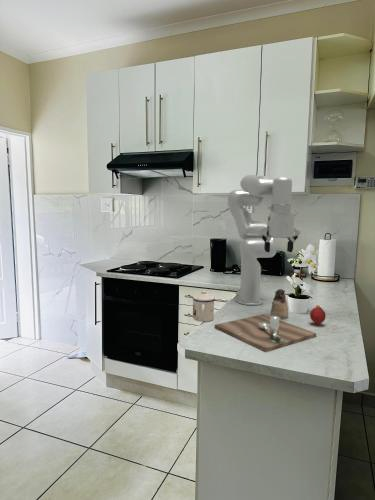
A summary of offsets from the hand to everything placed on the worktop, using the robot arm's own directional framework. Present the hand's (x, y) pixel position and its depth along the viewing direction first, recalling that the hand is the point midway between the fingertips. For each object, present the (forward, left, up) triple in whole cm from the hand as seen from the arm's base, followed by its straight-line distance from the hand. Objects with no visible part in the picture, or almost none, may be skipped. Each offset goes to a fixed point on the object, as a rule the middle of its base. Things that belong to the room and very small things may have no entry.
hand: (278, 251), depth 137 cm
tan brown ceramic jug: (-2, +5, -28) cm, 29 cm away
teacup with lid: (-15, -26, -28) cm, 41 cm away
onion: (+13, +10, -28) cm, 33 cm away
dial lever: (+13, -17, -27) cm, 34 cm away
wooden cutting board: (+8, -15, -28) cm, 33 cm away
